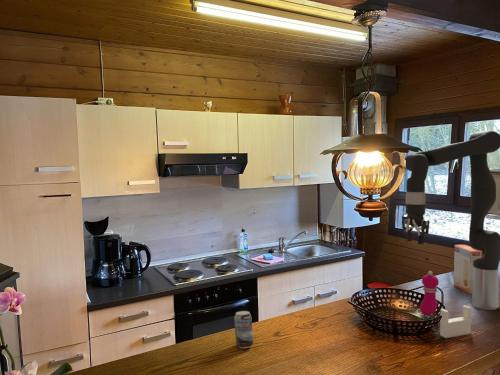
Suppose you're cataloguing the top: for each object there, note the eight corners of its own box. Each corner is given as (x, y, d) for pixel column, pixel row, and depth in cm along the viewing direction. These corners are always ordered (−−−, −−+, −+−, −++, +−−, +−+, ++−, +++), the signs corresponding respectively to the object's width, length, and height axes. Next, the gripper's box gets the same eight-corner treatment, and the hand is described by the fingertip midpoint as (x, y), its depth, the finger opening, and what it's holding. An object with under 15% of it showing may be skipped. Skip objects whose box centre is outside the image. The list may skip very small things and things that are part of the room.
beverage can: (240, 352, 129) (239, 318, 128) (231, 343, 135) (230, 311, 135) (256, 348, 132) (256, 314, 131) (247, 339, 138) (246, 307, 138)
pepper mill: (419, 322, 150) (419, 272, 148) (420, 315, 156) (420, 267, 155) (439, 325, 147) (440, 274, 145) (439, 318, 153) (440, 269, 151)
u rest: (465, 330, 142) (465, 305, 141) (470, 333, 139) (471, 307, 139) (440, 335, 139) (440, 309, 138) (445, 338, 136) (445, 311, 136)
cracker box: (481, 294, 178) (482, 250, 176) (468, 294, 178) (469, 251, 176) (465, 284, 192) (466, 244, 190) (453, 285, 192) (454, 244, 190)
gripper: (435, 204, 151) (435, 245, 152) (411, 200, 165) (410, 238, 166) (420, 205, 149) (419, 247, 150) (396, 201, 163) (396, 239, 164)
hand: (414, 242), depth 158 cm, fingers open, 6 cm apart
